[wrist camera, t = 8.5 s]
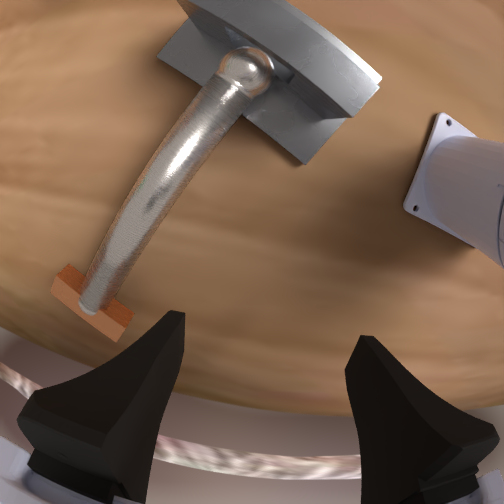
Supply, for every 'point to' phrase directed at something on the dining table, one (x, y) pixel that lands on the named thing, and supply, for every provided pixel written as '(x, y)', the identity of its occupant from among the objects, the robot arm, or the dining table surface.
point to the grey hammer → (277, 68)
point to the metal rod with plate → (162, 188)
